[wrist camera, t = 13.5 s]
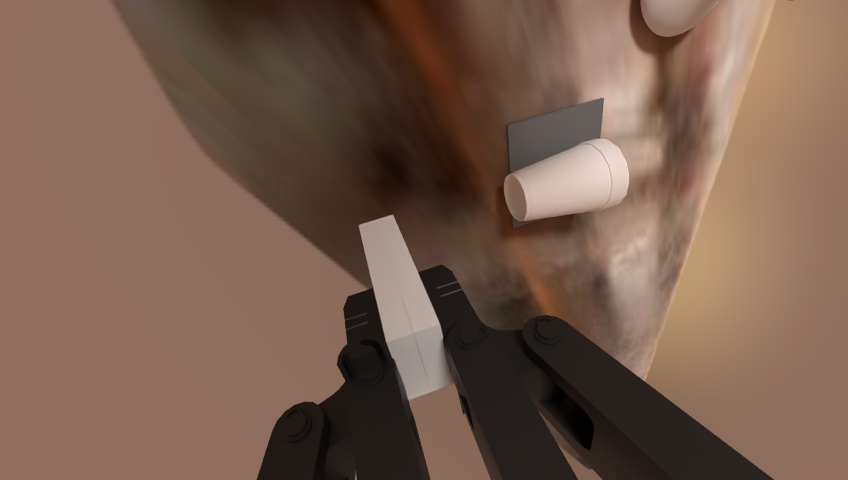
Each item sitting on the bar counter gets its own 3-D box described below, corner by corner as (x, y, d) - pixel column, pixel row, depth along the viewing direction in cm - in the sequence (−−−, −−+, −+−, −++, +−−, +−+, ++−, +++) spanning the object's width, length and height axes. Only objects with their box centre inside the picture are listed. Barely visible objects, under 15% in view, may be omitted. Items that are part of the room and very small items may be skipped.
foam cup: (492, 175, 51) (573, 154, 53) (512, 236, 50) (593, 212, 52) (517, 151, 41) (614, 126, 43) (541, 226, 41) (639, 197, 43)
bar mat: (506, 125, 46) (507, 126, 45) (601, 98, 47) (603, 98, 47) (512, 227, 55) (513, 228, 54) (592, 201, 56) (594, 202, 56)
